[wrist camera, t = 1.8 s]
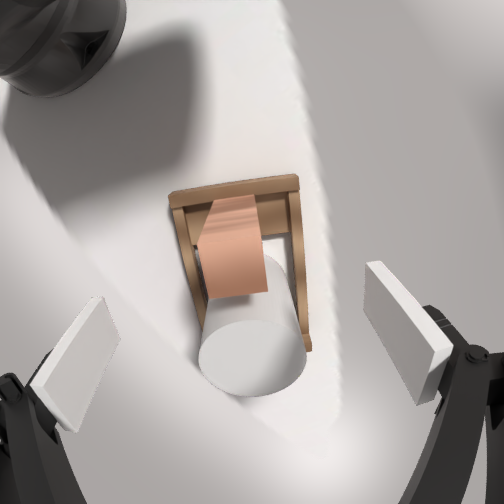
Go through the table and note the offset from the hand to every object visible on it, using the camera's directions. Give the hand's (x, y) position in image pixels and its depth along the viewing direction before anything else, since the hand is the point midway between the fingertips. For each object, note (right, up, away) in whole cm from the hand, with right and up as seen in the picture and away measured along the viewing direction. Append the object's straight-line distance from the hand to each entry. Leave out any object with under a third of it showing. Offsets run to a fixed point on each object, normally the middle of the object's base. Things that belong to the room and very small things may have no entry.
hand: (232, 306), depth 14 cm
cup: (+1, -1, +19) cm, 19 cm away
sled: (0, +1, +18) cm, 18 cm away
